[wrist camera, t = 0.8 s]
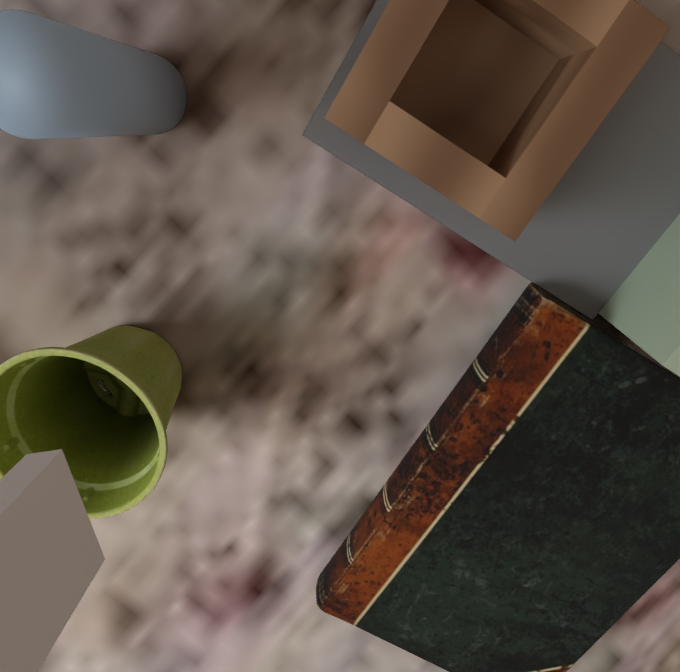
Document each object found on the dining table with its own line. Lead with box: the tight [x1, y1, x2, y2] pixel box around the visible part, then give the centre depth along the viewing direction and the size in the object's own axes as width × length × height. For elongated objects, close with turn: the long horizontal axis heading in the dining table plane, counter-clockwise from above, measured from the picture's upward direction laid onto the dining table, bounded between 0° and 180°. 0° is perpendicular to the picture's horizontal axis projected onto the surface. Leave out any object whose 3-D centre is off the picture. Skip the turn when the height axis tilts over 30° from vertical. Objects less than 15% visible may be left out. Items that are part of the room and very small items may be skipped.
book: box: [316, 283, 680, 672], centre depth 37 cm, size 17×4×25 cm
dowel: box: [0, 10, 187, 139], centre depth 25 cm, size 4×4×12 cm
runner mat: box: [303, 0, 680, 320], centre depth 30 cm, size 20×13×1 cm, turn 59°
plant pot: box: [0, 325, 182, 519], centre depth 32 cm, size 9×9×9 cm
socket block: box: [325, 0, 670, 241], centre depth 27 cm, size 10×10×6 cm
